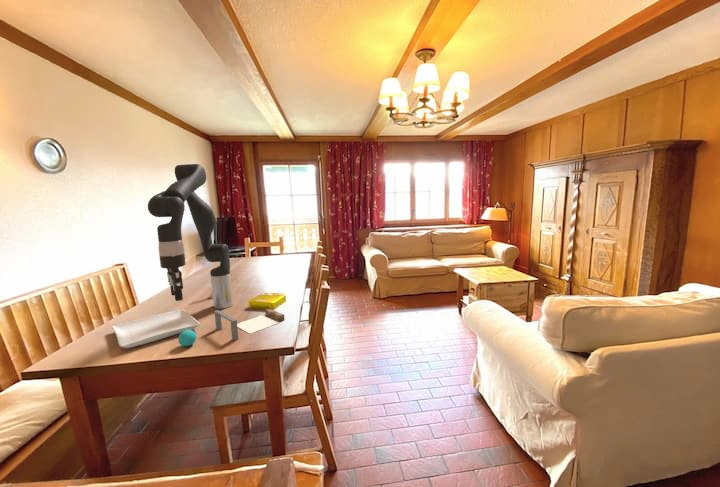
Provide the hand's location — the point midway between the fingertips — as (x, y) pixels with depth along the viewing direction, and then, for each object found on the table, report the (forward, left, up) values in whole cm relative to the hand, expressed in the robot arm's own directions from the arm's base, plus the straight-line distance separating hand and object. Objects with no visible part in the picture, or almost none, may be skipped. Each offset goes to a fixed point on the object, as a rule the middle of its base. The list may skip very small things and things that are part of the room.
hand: (177, 297), depth 105 cm
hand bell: (-56, +36, -21) cm, 70 cm away
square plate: (-28, -1, -21) cm, 35 cm away
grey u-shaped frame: (-1, +17, -21) cm, 26 cm away
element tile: (-19, +47, -21) cm, 55 cm away
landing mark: (0, +30, -21) cm, 36 cm away
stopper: (-1, +39, -21) cm, 44 cm away
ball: (-3, +3, -18) cm, 18 cm away
